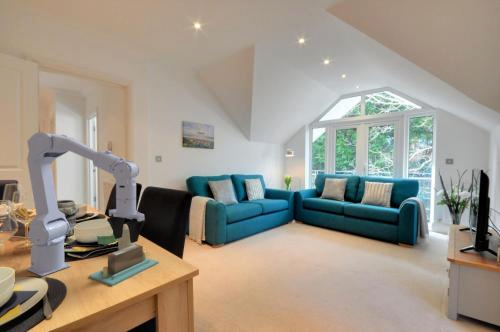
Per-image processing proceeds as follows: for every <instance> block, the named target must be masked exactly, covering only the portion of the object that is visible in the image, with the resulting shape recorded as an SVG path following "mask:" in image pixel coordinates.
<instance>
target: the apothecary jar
mask: <svg viewBox="0 0 500 332" xmlns="http://www.w3.org/2000/svg"><path fill="white" fill-rule="evenodd" d="M57 205H58V210H59V211H60V212H62V213H63V214H65V218H66V220H67V221H68V223H69V225H70V230H69V232H68V233H67V234H66V235H65V239H64V243H70V242H72V241H73V239H74V238H71V237H73V236H74V229H73V228H74V226H75V225H77V224H76V223H77V220H76V218H77V214H78V213H79V211H80V207H79V206H78V205H76V202H75V200H73V199H59V200H57ZM49 222H50V221H49Z"/></svg>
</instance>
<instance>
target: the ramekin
mask: <svg viewBox="0 0 500 332" xmlns="http://www.w3.org/2000/svg"><path fill="white" fill-rule="evenodd" d="M96 236H97V235H96ZM116 241H118V239H115V237H114V234H113V235H112V236H97V245H98V244H110V243H113V242H116Z"/></svg>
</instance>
